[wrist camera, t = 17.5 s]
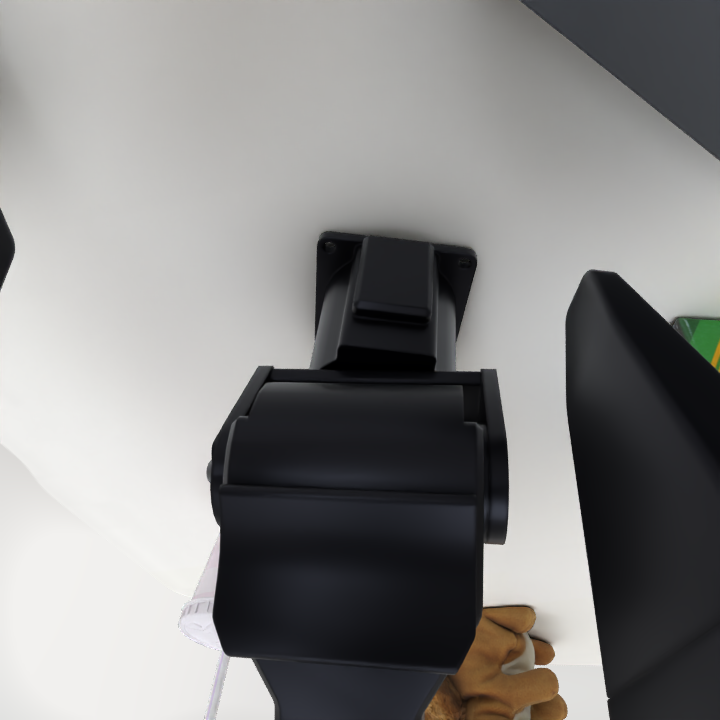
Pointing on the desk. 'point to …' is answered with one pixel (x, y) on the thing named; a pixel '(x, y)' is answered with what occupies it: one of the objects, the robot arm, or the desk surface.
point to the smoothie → (206, 625)
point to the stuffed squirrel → (501, 674)
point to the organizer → (652, 53)
